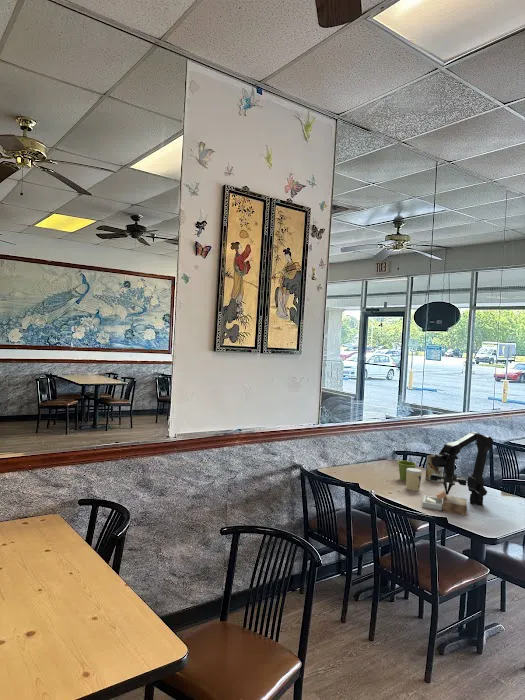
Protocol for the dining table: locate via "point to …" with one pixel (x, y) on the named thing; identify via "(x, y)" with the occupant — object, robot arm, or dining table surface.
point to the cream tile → (430, 500)
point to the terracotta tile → (441, 495)
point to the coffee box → (432, 468)
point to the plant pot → (403, 466)
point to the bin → (431, 505)
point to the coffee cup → (413, 479)
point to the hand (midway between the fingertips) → (447, 494)
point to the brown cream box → (455, 505)
